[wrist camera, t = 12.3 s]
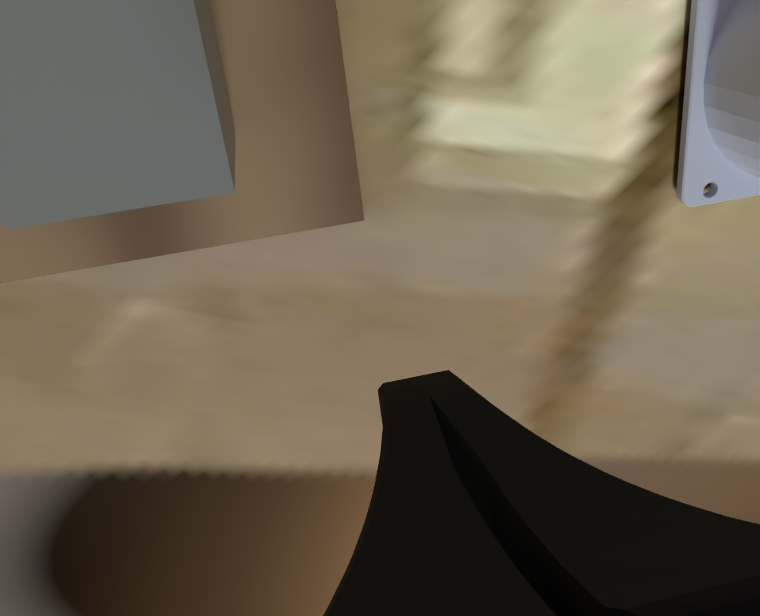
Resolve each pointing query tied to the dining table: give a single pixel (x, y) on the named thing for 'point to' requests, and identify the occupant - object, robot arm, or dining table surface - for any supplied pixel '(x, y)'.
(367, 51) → the dining table surface
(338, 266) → the dining table surface
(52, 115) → the grey rectangular block
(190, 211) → the post board
